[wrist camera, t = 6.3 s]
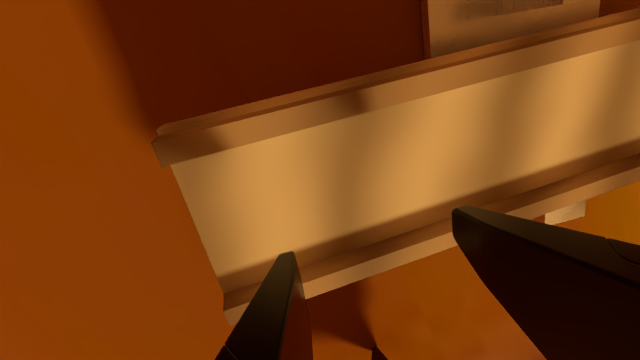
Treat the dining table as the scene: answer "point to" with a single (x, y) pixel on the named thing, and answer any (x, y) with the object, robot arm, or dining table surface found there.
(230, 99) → the dining table surface
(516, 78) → the beam
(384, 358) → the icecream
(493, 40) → the stand
